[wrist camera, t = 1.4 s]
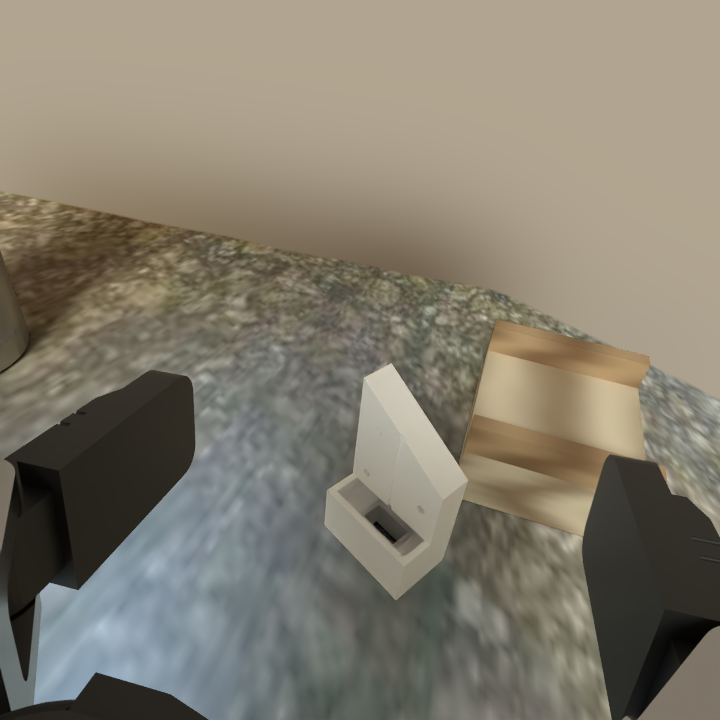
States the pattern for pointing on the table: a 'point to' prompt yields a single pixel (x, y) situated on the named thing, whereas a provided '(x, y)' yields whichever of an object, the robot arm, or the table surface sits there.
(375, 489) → the white angled block
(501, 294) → the table surface
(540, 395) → the wooden step block
